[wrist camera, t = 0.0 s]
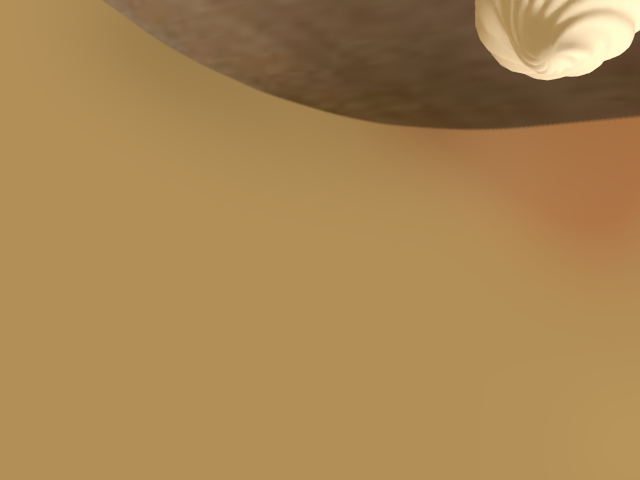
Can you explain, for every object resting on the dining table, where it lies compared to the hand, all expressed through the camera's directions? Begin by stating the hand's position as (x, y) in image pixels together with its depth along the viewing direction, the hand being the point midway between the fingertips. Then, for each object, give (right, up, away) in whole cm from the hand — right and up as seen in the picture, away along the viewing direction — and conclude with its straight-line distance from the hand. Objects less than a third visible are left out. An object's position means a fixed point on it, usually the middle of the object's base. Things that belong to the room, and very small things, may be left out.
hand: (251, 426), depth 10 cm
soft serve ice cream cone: (+17, +24, +23) cm, 37 cm away
